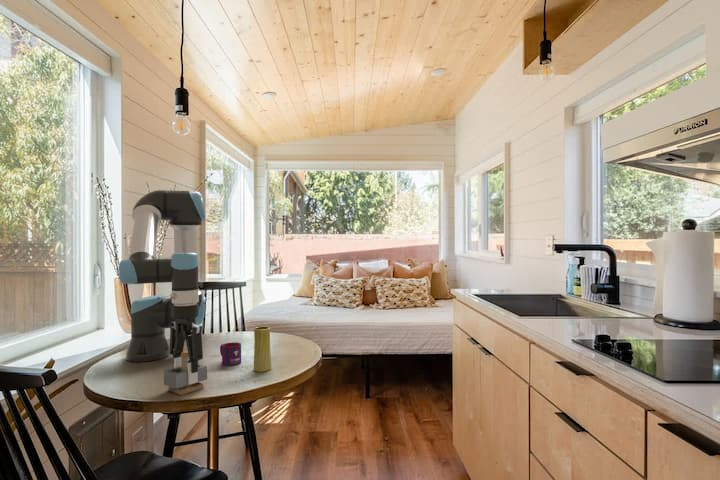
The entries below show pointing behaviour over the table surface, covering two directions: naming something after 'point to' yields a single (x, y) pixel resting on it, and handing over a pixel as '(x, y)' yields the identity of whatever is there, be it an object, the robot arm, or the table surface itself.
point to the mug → (231, 353)
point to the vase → (262, 349)
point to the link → (182, 376)
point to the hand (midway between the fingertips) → (185, 380)
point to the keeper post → (184, 367)
